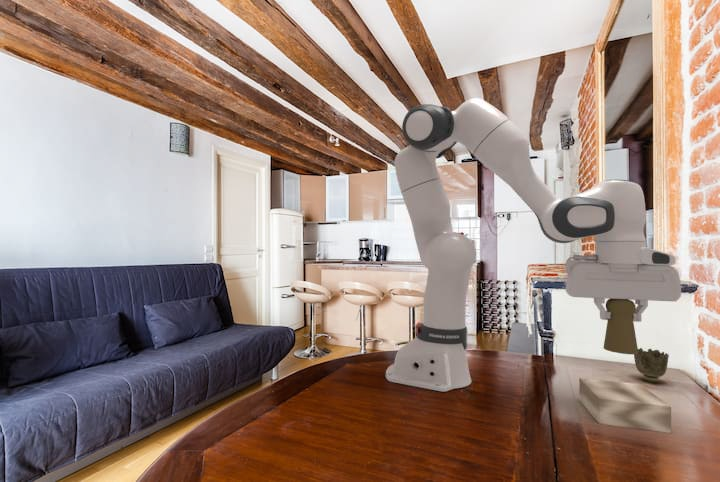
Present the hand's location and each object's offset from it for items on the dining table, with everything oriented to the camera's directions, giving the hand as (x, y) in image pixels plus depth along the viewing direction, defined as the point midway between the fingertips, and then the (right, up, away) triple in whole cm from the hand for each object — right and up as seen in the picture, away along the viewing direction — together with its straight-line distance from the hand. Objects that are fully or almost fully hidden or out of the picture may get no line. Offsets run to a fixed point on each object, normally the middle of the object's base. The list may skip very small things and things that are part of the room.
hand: (620, 320), depth 75 cm
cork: (0, -7, 0) cm, 7 cm away
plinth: (0, -20, -1) cm, 20 cm away
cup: (+23, -21, +20) cm, 37 cm away
